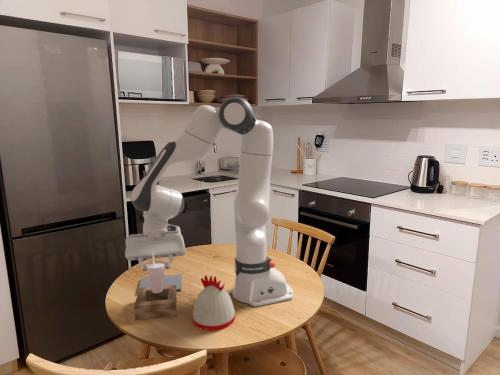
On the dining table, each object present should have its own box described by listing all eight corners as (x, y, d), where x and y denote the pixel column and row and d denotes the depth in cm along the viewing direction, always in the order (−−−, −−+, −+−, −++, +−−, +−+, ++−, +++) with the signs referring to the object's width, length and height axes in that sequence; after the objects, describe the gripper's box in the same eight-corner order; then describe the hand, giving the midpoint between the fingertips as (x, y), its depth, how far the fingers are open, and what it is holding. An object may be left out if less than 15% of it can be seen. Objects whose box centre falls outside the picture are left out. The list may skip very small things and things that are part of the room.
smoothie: (146, 288, 128) (144, 250, 125) (165, 285, 130) (163, 247, 127) (148, 296, 122) (145, 257, 119) (168, 293, 124) (165, 254, 121)
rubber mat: (181, 276, 152) (181, 274, 152) (181, 291, 139) (180, 288, 139) (141, 279, 149) (141, 277, 149) (137, 294, 137) (137, 292, 136)
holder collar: (176, 297, 135) (176, 284, 134) (175, 316, 122) (175, 302, 121) (140, 300, 133) (139, 287, 132) (135, 320, 120) (134, 306, 119)
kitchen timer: (205, 304, 130) (204, 265, 127) (241, 312, 125) (240, 270, 122) (184, 325, 117) (182, 282, 114) (223, 334, 112) (222, 289, 109)
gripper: (124, 231, 127) (122, 268, 120) (183, 226, 130) (185, 262, 123) (127, 239, 132) (125, 275, 125) (184, 234, 135) (186, 269, 128)
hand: (155, 269), depth 124 cm, fingers closed on smoothie, 6 cm apart
